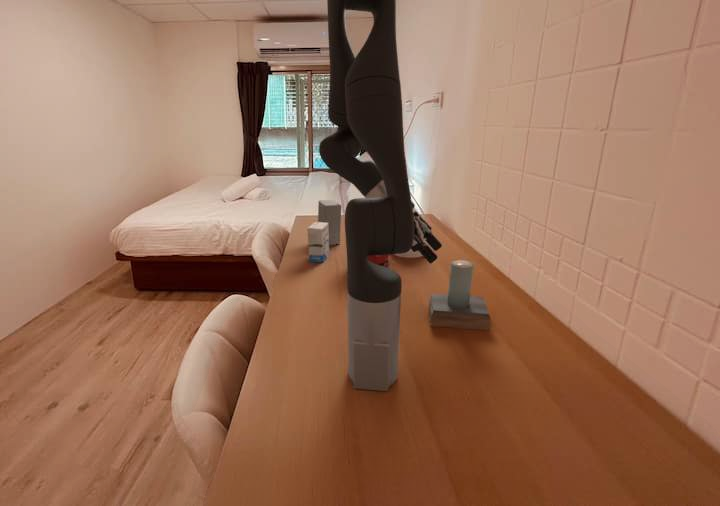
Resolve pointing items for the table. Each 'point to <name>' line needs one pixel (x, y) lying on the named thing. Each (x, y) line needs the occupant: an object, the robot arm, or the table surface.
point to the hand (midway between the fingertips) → (436, 254)
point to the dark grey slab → (458, 313)
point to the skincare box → (331, 219)
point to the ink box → (318, 242)
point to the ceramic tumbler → (460, 284)
